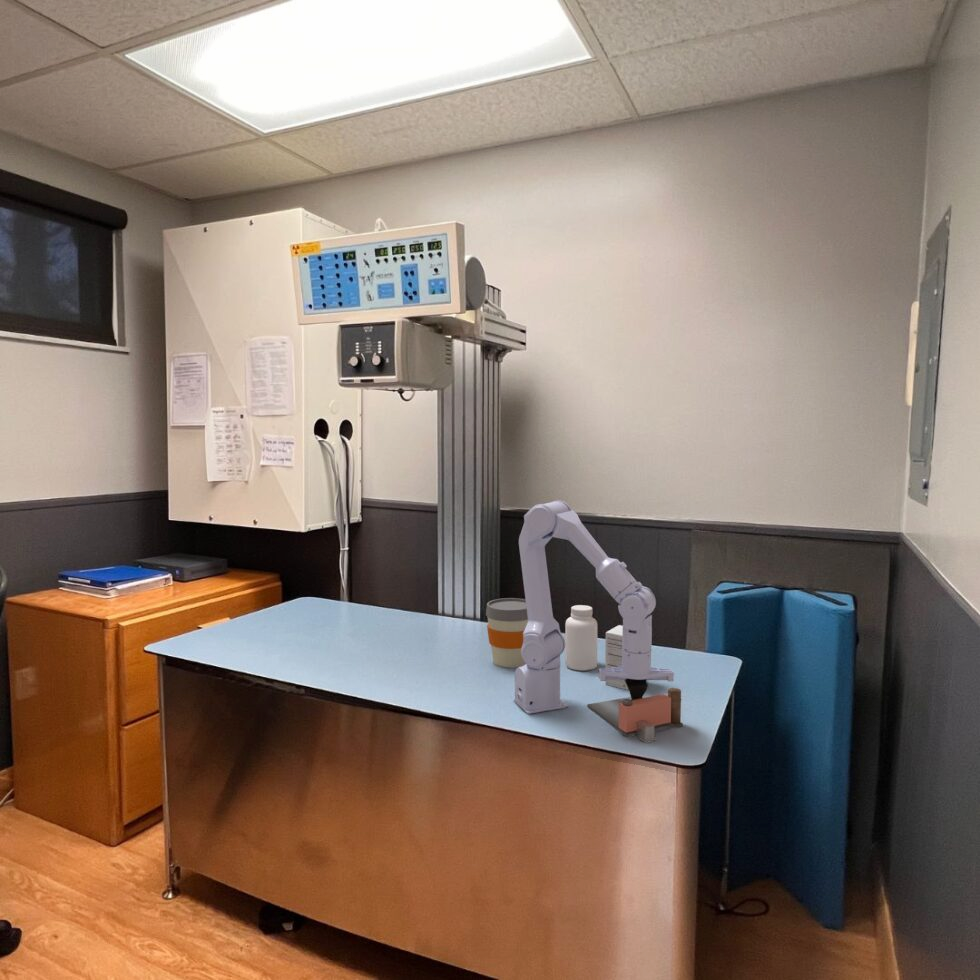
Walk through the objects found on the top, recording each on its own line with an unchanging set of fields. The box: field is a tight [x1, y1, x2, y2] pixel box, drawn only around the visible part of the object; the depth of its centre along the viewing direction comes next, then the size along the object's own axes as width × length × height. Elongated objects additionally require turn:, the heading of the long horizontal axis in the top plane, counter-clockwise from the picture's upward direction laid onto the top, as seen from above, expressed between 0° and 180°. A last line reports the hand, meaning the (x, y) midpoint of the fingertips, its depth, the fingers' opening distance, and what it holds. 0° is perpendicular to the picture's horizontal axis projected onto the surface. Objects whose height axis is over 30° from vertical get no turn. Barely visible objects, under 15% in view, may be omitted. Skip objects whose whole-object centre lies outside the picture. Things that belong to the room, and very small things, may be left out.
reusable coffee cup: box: [485, 597, 528, 668], centre depth 177 cm, size 13×13×15 cm
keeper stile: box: [636, 720, 655, 744], centre depth 133 cm, size 2×3×3 cm, turn 21°
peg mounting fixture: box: [586, 687, 684, 738], centre depth 143 cm, size 13×16×7 cm
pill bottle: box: [564, 604, 598, 672], centre depth 173 cm, size 8×8×15 cm
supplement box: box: [604, 624, 629, 691], centre depth 161 cm, size 7×7×13 cm
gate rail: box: [619, 693, 671, 733], centre depth 136 cm, size 2×11×6 cm, turn 115°
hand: (635, 714), depth 139 cm, fingers closed, pressing on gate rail
